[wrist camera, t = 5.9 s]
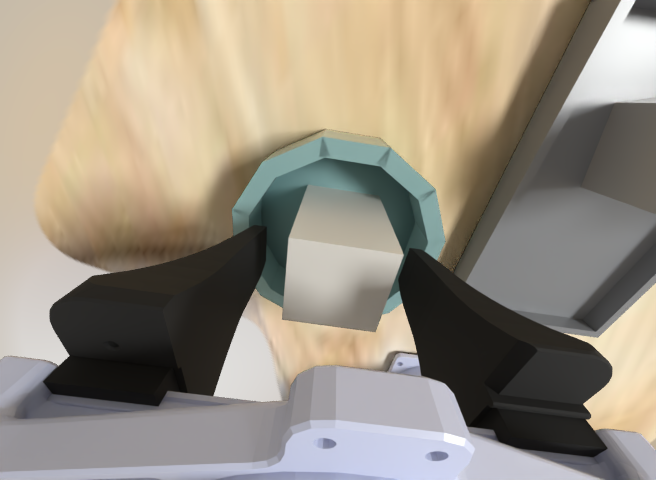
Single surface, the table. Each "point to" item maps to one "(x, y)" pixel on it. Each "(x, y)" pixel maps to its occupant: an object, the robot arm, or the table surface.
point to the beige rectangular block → (340, 260)
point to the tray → (572, 189)
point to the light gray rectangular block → (627, 156)
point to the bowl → (344, 174)
